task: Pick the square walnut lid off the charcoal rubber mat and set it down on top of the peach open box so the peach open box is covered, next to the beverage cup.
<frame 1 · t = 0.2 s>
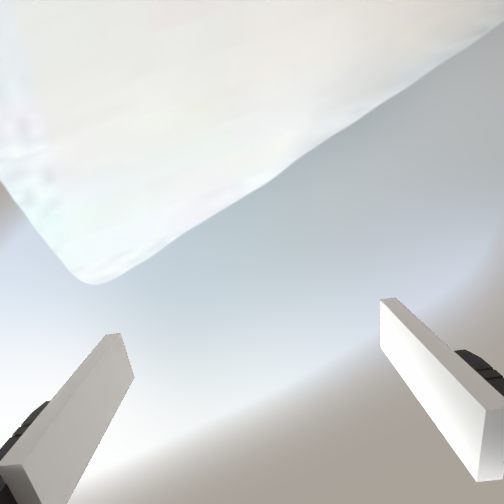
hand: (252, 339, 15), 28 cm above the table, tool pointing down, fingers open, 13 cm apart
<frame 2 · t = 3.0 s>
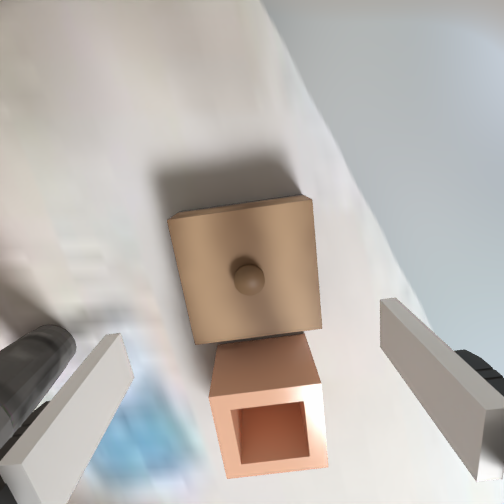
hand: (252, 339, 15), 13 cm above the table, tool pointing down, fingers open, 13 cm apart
beverage cup: (54, 343, 29), on the table
lid: (249, 263, 26), point 1 cm above the table, touching mat
peach open box: (266, 375, 31), on the table
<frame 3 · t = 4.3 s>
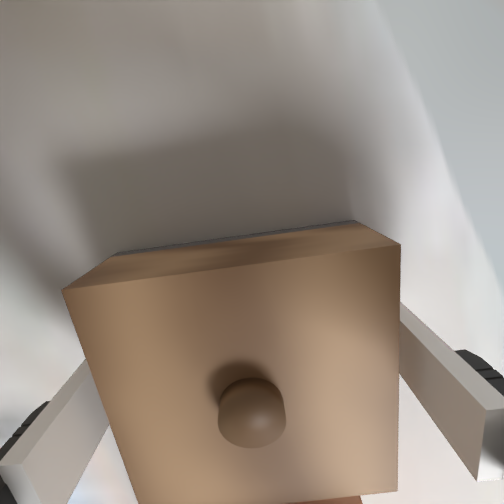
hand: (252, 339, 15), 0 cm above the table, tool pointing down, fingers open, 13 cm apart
mat: (250, 340, 15), on the table
lid: (250, 347, 14), point 1 cm above the table, touching mat
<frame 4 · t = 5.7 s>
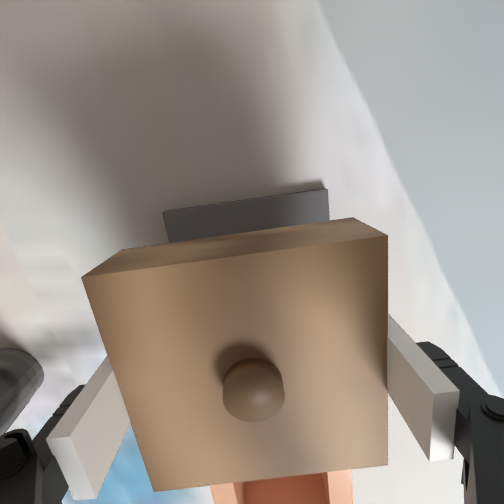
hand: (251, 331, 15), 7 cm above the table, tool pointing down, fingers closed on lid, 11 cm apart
beverage cup: (18, 369, 24), on the table
mat: (255, 274, 21), on the table
lid: (252, 334, 15), point 7 cm above the table, touching gripper
peach open box: (274, 408, 25), on the table
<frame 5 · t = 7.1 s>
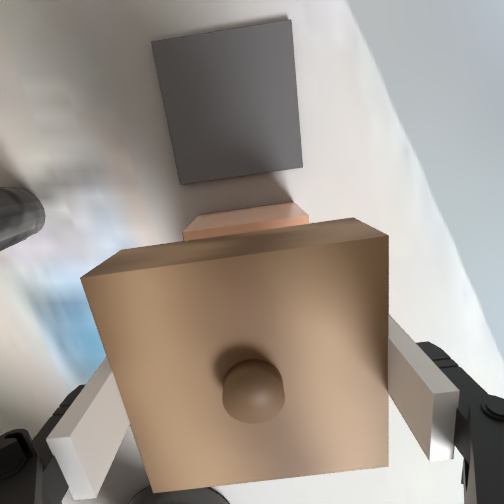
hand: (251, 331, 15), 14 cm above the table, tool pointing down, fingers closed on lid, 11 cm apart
beverage cup: (22, 211, 27), on the table
mat: (232, 109, 24), on the table
lid: (252, 334, 15), point 14 cm above the table, touching gripper
peach open box: (252, 253, 28), on the table
when the fingers open (7 cm above the table, at t = 8.9 s): lid stays where it is, resting on peach open box.
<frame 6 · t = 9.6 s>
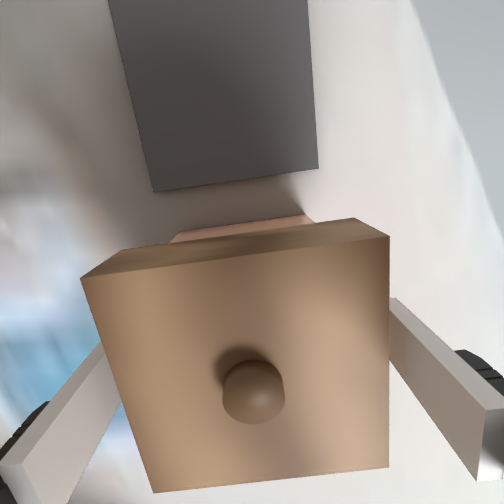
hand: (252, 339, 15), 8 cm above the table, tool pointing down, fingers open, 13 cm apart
mat: (222, 89, 18), on the table
lid: (252, 335, 15), point 7 cm above the table, touching peach open box
peach open box: (251, 281, 22), on the table
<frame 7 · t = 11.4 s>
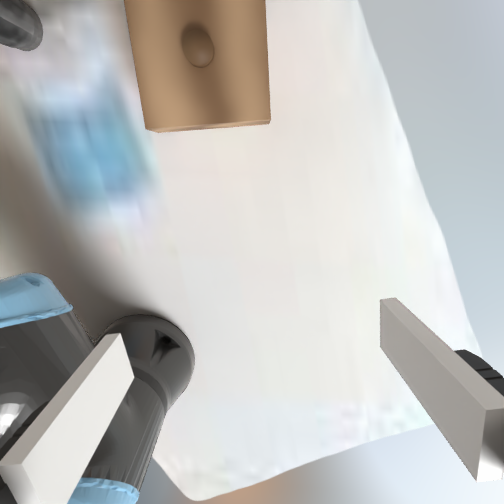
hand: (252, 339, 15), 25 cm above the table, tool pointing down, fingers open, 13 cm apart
beverage cup: (23, 28, 32), on the table
lid: (206, 64, 27), point 7 cm above the table, touching peach open box
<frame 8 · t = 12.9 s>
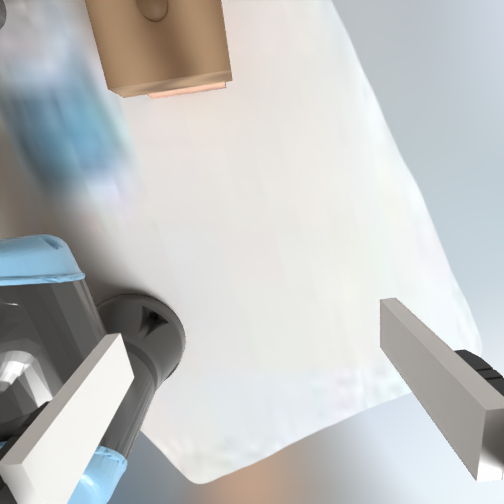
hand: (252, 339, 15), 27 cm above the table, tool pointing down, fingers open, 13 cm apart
lid: (165, 24, 27), point 7 cm above the table, touching peach open box
peach open box: (181, 50, 34), on the table
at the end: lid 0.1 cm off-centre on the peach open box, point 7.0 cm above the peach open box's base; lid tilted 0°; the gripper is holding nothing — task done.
